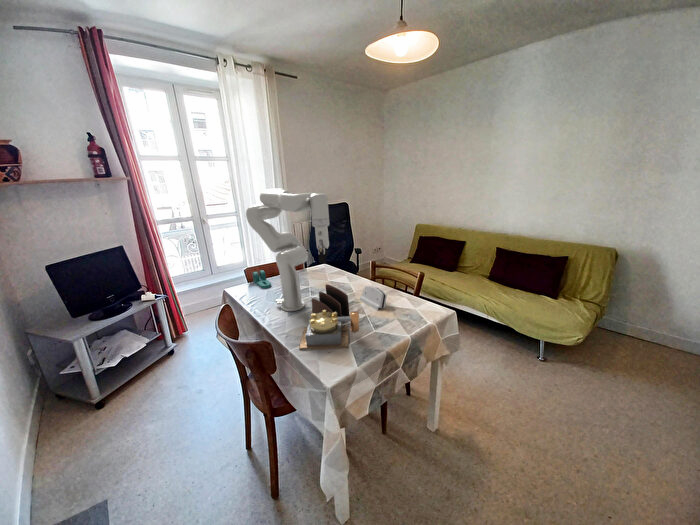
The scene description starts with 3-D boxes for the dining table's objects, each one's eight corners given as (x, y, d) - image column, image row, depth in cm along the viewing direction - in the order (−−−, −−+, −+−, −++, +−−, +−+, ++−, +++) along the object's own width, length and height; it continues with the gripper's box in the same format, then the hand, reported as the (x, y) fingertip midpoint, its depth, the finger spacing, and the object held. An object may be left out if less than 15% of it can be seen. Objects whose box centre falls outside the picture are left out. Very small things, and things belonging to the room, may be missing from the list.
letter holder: (328, 306, 149) (326, 281, 145) (350, 320, 134) (348, 293, 130) (312, 311, 144) (309, 286, 139) (333, 327, 128) (331, 299, 124)
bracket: (253, 282, 189) (251, 271, 187) (263, 279, 193) (261, 269, 191) (262, 289, 175) (260, 278, 173) (272, 287, 179) (271, 275, 177)
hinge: (358, 299, 155) (362, 282, 154) (365, 300, 158) (369, 283, 156) (377, 310, 141) (382, 292, 140) (384, 311, 144) (389, 292, 143)
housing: (299, 349, 112) (297, 336, 110) (305, 329, 127) (303, 317, 126) (348, 347, 112) (347, 334, 110) (348, 327, 127) (347, 315, 125)
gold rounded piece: (309, 340, 113) (307, 323, 111) (312, 325, 125) (310, 309, 122) (360, 337, 113) (359, 320, 111) (358, 322, 125) (357, 306, 123)
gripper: (327, 225, 113) (330, 265, 119) (330, 219, 130) (332, 254, 135) (309, 226, 113) (313, 265, 119) (314, 219, 130) (317, 254, 135)
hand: (323, 259), depth 127 cm, fingers open, 9 cm apart
